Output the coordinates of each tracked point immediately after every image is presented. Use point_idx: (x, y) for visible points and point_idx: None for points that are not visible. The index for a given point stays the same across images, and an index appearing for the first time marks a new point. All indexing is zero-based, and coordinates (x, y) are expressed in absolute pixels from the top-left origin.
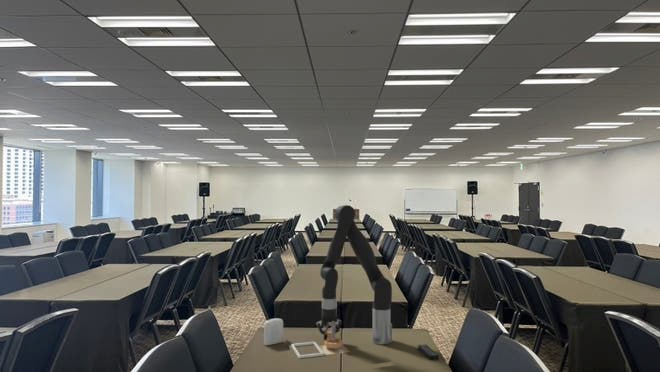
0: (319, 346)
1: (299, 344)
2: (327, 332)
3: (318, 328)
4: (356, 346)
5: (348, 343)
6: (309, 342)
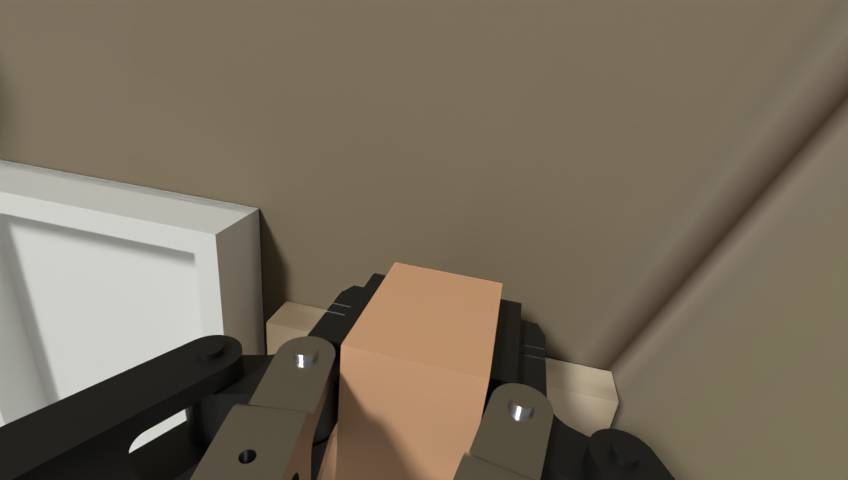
0: (268, 345)
1: (10, 208)
2: (366, 403)
3: (80, 409)
4: (807, 468)
5: (798, 327)
6: (132, 232)
